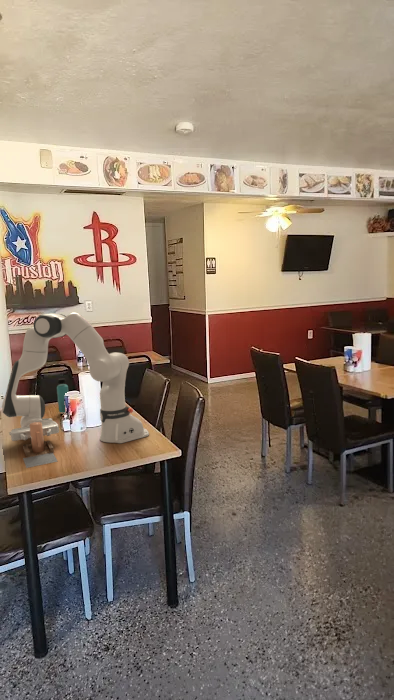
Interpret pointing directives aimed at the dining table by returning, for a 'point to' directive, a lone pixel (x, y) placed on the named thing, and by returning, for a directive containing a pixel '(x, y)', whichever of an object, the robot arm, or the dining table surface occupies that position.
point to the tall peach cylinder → (37, 437)
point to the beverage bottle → (61, 394)
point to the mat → (39, 460)
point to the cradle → (29, 453)
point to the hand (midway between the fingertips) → (37, 436)
